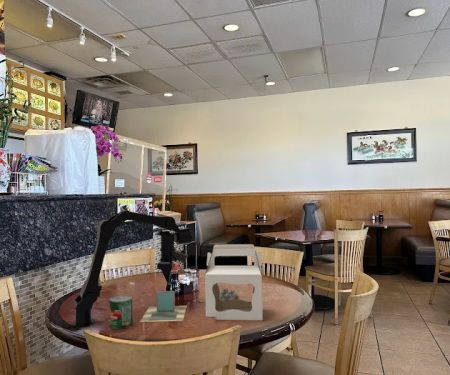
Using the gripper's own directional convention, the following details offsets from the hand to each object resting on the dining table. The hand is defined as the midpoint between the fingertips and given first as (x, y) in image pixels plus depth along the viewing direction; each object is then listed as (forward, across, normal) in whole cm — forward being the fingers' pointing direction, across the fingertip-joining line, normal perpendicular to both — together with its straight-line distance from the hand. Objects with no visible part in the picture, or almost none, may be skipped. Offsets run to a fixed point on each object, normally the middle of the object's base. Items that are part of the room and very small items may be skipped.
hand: (168, 282), depth 150 cm
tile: (+10, -8, 0) cm, 13 cm away
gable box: (+11, -10, -28) cm, 32 cm away
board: (+11, -10, 0) cm, 15 cm away
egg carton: (+12, +12, -26) cm, 31 cm away
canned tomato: (+11, -22, +14) cm, 28 cm away
